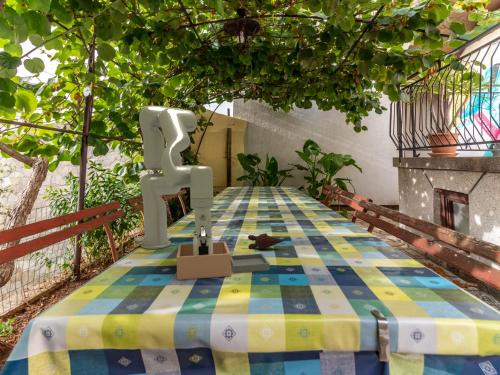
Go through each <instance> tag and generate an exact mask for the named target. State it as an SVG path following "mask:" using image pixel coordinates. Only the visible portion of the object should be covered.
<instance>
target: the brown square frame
mask: <svg viewBox="0 0 500 375" xmlns="http://www.w3.org/2000/svg"><path fill="white" fill-rule="evenodd" d="M231 256H232V255H231V252H230V250H229V247H228V245H227V242H226V241H213V255H197V256H194V252H193V242H192V243H179V244H178V248H177V254H176V280H178V281H179V280H191V279H192V280H193V279H205V278H219V277H220V278H221V277H231V276H232V267H231Z"/></svg>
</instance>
